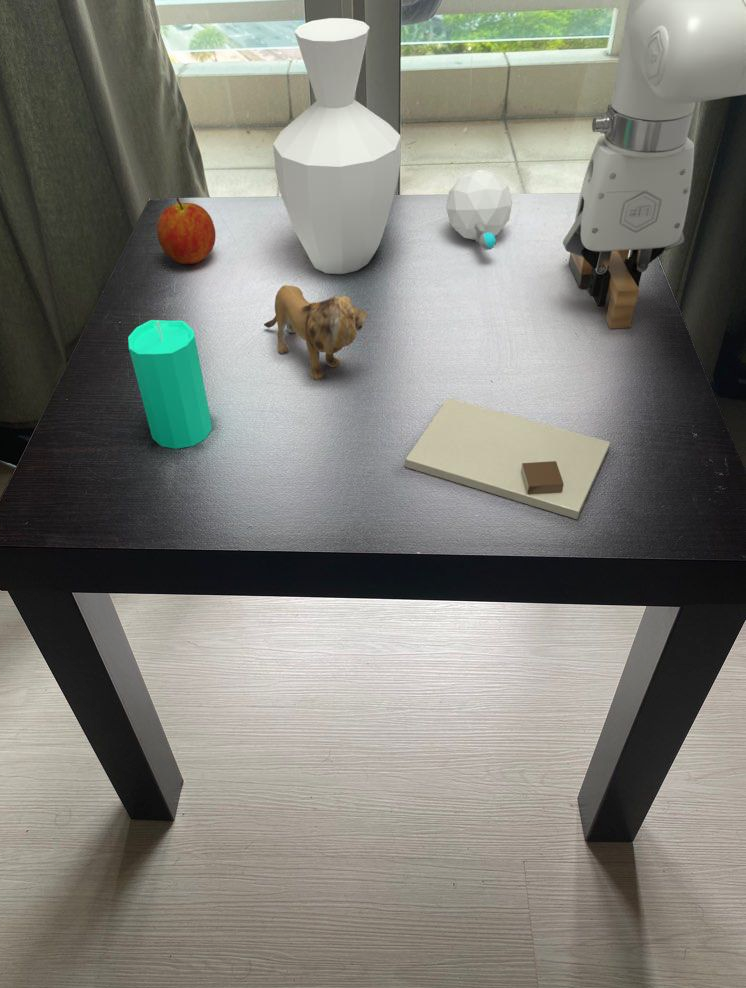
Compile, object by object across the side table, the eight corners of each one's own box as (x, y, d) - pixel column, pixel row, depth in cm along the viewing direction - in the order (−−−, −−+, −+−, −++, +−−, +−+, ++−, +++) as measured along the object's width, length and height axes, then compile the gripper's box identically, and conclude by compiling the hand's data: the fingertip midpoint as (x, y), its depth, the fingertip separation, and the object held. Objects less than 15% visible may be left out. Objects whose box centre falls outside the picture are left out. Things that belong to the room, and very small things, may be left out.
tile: (608, 450, 78) (610, 441, 77) (577, 519, 72) (579, 511, 71) (447, 405, 83) (447, 397, 82) (404, 467, 77) (405, 458, 76)
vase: (318, 222, 111) (304, 3, 93) (418, 242, 106) (424, 15, 88) (263, 273, 102) (235, 43, 84) (369, 297, 97) (364, 59, 79)
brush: (643, 327, 91) (652, 288, 88) (597, 330, 91) (604, 291, 88) (607, 260, 101) (615, 223, 98) (566, 263, 101) (572, 226, 98)
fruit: (225, 247, 107) (215, 185, 101) (211, 275, 102) (201, 211, 96) (172, 245, 108) (160, 183, 102) (156, 273, 103) (142, 210, 97)
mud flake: (562, 492, 73) (563, 484, 72) (527, 494, 73) (528, 486, 72) (554, 469, 75) (556, 460, 74) (520, 471, 75) (522, 462, 74)
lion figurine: (375, 373, 87) (374, 295, 81) (338, 396, 85) (334, 317, 78) (282, 320, 95) (274, 245, 88) (245, 340, 92) (235, 264, 86)
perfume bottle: (515, 188, 107) (538, 245, 100) (460, 227, 111) (478, 284, 104) (485, 143, 102) (507, 199, 95) (428, 185, 105) (445, 242, 98)
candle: (206, 449, 80) (184, 340, 71) (144, 448, 80) (115, 340, 72) (217, 409, 84) (197, 302, 75) (158, 409, 85) (131, 302, 76)
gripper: (572, 147, 78) (545, 323, 91) (746, 137, 78) (694, 314, 91) (554, 117, 83) (531, 287, 96) (717, 107, 83) (671, 278, 96)
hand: (610, 298), depth 93 cm, fingers closed on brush
